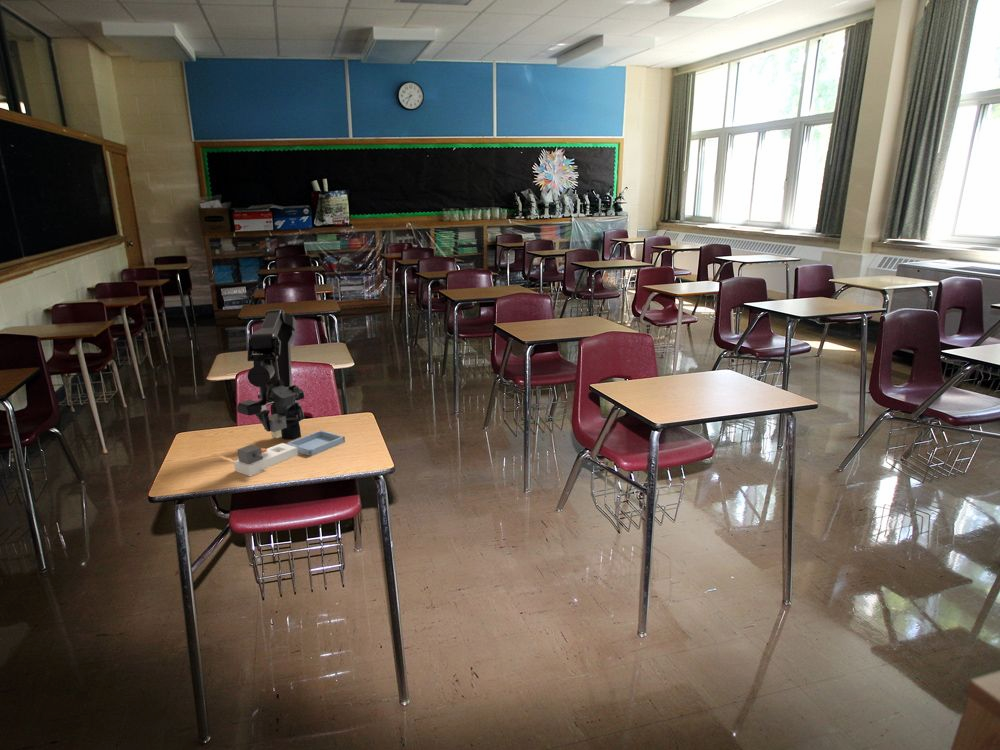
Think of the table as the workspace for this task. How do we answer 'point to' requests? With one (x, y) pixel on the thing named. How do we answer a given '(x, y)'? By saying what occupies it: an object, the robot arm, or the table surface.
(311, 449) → the tray
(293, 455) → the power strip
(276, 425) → the grey block with knob
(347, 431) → the table surface
